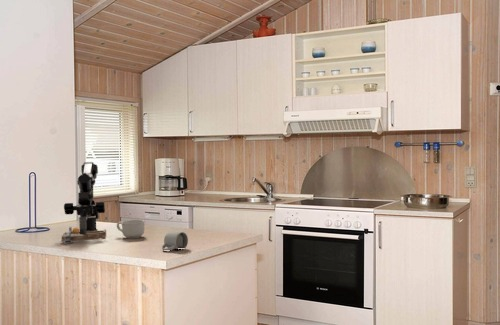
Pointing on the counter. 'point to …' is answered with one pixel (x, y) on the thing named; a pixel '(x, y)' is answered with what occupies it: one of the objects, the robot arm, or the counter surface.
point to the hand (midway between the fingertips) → (83, 221)
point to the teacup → (132, 228)
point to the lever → (81, 225)
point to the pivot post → (67, 241)
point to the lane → (88, 235)
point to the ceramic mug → (175, 240)
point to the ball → (75, 230)
